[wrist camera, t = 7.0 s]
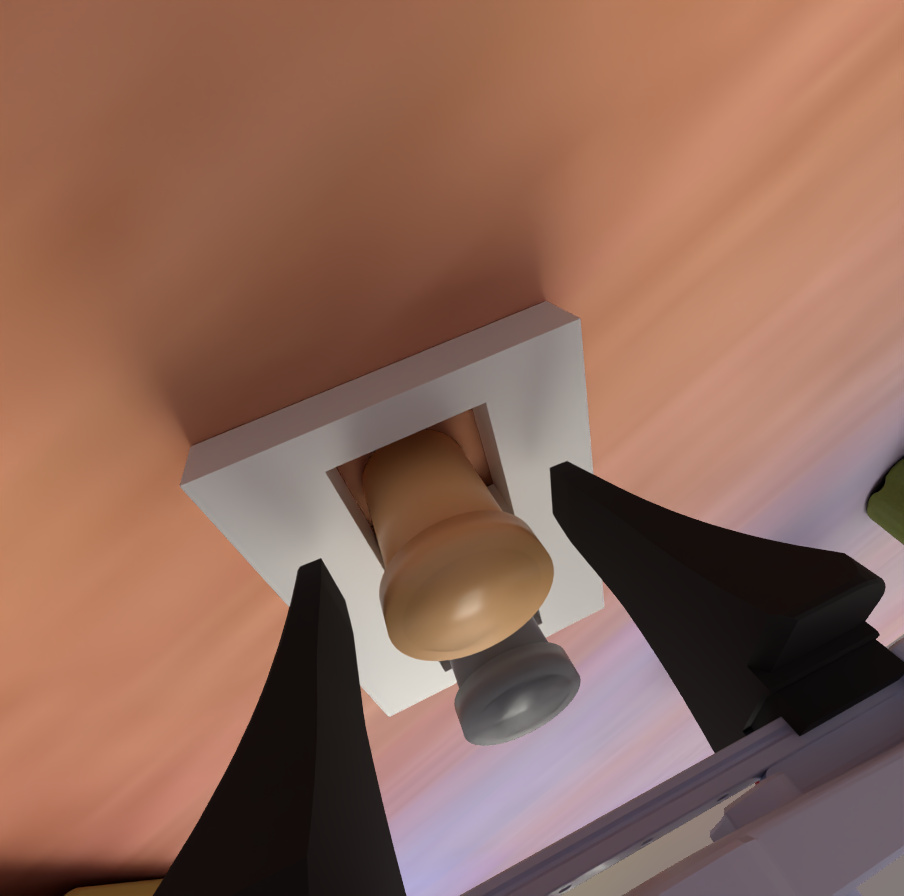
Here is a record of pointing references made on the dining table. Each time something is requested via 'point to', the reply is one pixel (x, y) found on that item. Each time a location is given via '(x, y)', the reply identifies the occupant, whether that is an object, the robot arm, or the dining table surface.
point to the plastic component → (119, 889)
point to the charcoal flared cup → (513, 686)
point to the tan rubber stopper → (449, 552)
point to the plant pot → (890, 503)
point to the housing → (383, 422)
